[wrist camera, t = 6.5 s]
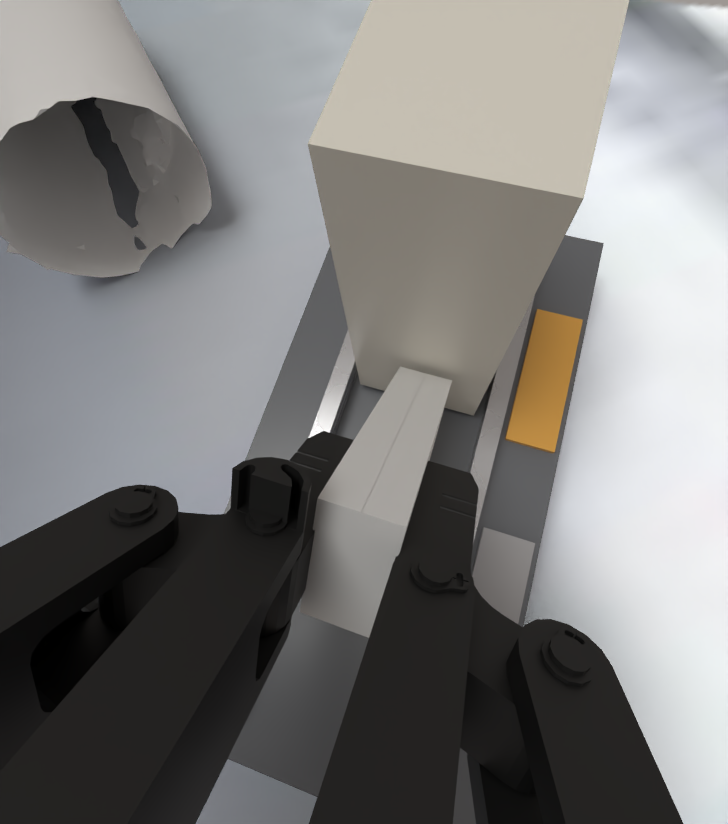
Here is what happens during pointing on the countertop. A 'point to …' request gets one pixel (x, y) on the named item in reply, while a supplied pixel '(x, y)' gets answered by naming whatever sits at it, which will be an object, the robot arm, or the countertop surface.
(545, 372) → the switch plate
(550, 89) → the switch tab
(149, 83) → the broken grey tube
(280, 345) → the countertop surface
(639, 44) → the countertop surface
